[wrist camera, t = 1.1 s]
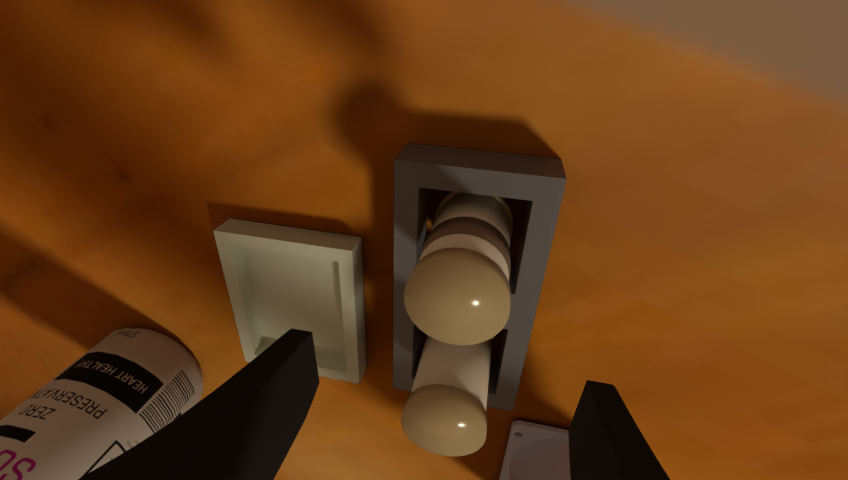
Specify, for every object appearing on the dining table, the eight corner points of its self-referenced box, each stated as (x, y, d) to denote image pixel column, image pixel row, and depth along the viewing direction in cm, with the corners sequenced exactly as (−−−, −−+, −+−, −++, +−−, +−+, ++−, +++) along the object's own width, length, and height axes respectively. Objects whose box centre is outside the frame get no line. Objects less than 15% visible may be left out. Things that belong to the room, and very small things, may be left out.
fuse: (490, 353, 25) (481, 463, 19) (428, 342, 25) (400, 446, 19) (499, 304, 23) (491, 409, 17) (432, 293, 23) (401, 391, 17)
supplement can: (167, 406, 35) (-36, 634, 22) (94, 337, 32) (-187, 553, 19) (229, 387, 32) (34, 642, 19) (154, 308, 29) (-134, 545, 16)
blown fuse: (507, 255, 21) (502, 353, 15) (435, 245, 22) (403, 335, 16) (519, 187, 19) (518, 268, 13) (439, 178, 20) (404, 252, 14)
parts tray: (366, 366, 27) (359, 383, 26) (257, 345, 29) (245, 361, 27) (361, 237, 22) (352, 251, 21) (229, 218, 24) (212, 230, 22)
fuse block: (513, 377, 25) (512, 411, 23) (403, 356, 26) (393, 387, 24) (561, 158, 18) (566, 178, 16) (408, 143, 19) (393, 159, 17)
